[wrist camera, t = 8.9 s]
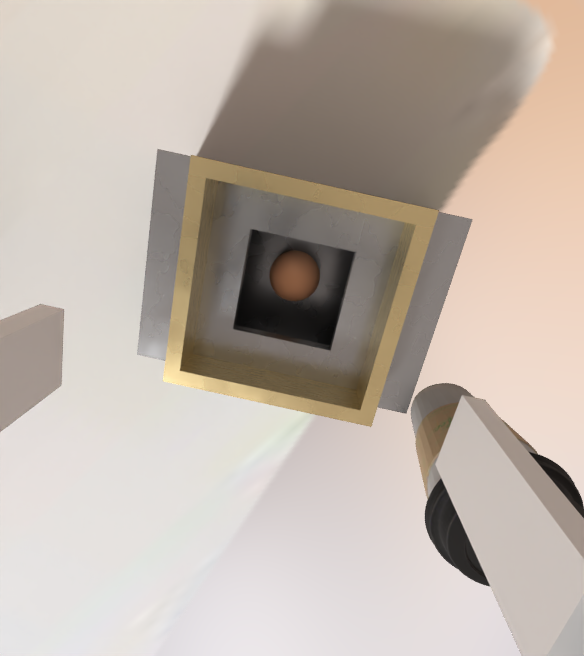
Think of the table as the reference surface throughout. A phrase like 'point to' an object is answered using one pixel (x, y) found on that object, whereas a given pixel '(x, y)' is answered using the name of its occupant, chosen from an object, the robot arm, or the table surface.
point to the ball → (294, 275)
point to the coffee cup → (440, 514)
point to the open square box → (282, 315)
